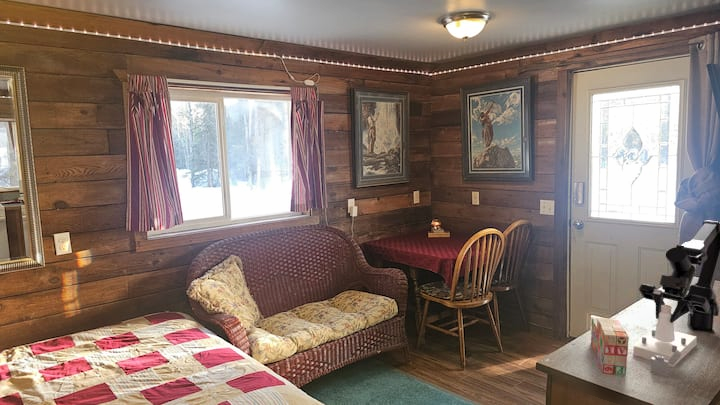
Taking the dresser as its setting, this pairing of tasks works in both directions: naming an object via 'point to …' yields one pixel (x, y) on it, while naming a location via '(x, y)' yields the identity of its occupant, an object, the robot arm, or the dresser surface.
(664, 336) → the pepper shaker
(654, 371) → the lighter
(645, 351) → the cream board with pegs
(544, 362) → the dresser surface
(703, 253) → the robot arm
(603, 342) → the stack of blocks
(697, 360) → the dresser surface
